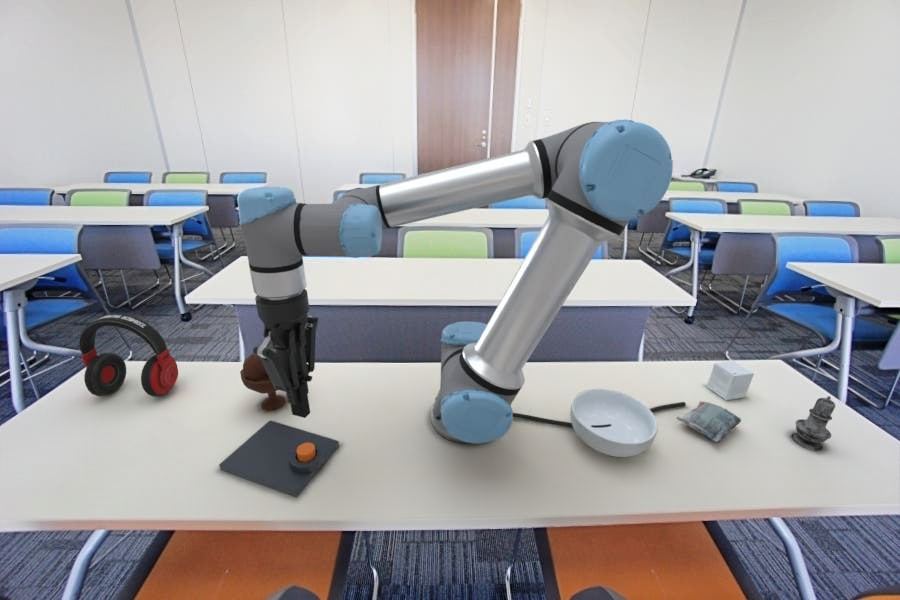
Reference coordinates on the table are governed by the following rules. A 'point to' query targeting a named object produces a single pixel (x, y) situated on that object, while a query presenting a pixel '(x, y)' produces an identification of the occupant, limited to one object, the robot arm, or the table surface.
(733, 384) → the product box
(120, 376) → the headphones
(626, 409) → the cereal bowl
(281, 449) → the scale
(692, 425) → the packaged food
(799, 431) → the grey chess piece
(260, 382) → the ice cream bowl
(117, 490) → the table surface
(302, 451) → the button
